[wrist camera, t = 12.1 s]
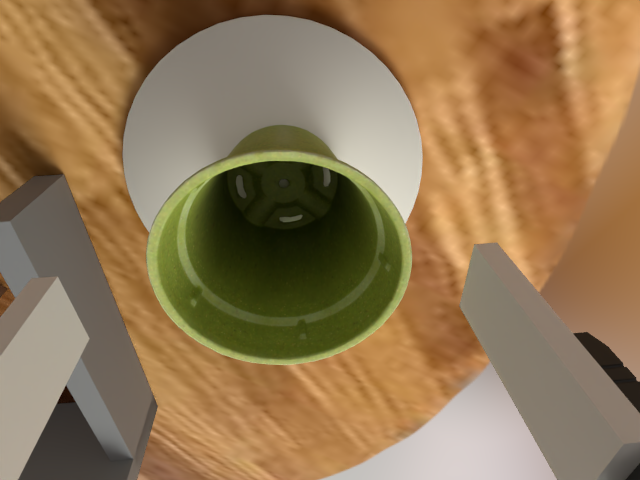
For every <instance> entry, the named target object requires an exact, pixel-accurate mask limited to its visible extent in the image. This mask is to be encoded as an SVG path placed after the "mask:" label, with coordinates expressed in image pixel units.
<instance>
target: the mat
mask: <svg viewBox="0 0 640 480" xmlns="http://www.w3.org/2000/svg"><path fill="white" fill-rule="evenodd" d="M273 125H289V126H295V127H299V128H302V129H305V130H307V131H309V132H311V133H312V134H314V135H315V136H317V137H318V138H320V139H321V140H322V141H323V142H324V143H325V144H326V145H327V146H328V147H329V148H330V150H331V151H332V152H333V154H334V155H335V156H336V157H337V159H338V160H340V161H343V162H345V163H347V164H349V165H351V166H352V167H354V168H356V169H358V170H359V171H361V172H362V173H364V174H365V175H366V176H368V177H369V178H370V179H372V180H373V181H374V182H375V183H376V184H377V185H378V186H379V187H380V188H381V189H382V190H383V191H384V192H385V193H386V194H387V195H388V197H389V198H390V199H391V200H392V202H393V203H394V205H395V206H396V208H397V209H398V211H399V212H400V214H401V216H402V218H403V220H404V223H406V221H407V219H408V217H409V215H410V213H411V211H412V209H413V206H414V203H415V200H416V197H417V194H418V191H419V185H420V180H421V175H422V144H421V136H420V132H419V128H418V123H417V119H416V117H415V114H414V111H413V109H412V106H411V104H410V101H409V99H408V98H407V96H406V94H405V92H404V91H403V89H402V87H401V85H400V84H399V82H398V81H397V80H396V78H395V77H394V76H393V74H392V73H391V72H390V70H389V69H388V68H387V67H386V66H385V65H384V64H383V63H382V62H381V61H380V60H379V59H378V58H377V57H376V56H375V55H374V54H373V53H372V52H370V51H369V50H368V49H366V48H365V47H364V46H362V45H361V44H359V43H358V42H357V41H355V40H354V39H352V38H351V37H349V36H347V35H345V34H343V33H341V32H339V31H337V30H335V29H334V28H332V27H329V26H326V25H323V24H320V23H317V22H314V21H312V20H307V19H302V18H297V17H292V16H283V15H257V16H248V17H240V18H236V19H233V20H229V21H225V22H222V23H218V24H216V25H214V26H211V27H209V28H207V29H205V30H202V31H200V32H198V33H196V34H194V35H193V36H191V37H190V38H188V39H187V40H185V41H183V42H182V43H180V44H179V45H177V46H176V47H175V48H174V49H173V50H171V51H170V52H169V53H168V54H167V55H166V56H165V57H164V58H162V59H161V60H160V61H159V62H158V64H157V65H156V66H155V67H154V69H153V70H152V71H151V72H150V74H149V75H148V76H147V77H146V79H145V80H144V82H143V84H142V86H141V87H140V89H139V91H138V93H137V94H136V96H135V98H134V101H133V104H132V106H131V109H130V112H129V114H128V117H127V122H126V127H125V132H124V139H123V164H124V175H125V179H126V183H127V187H128V191H129V194H130V197H131V199H132V202H133V204H134V207H135V210H136V211H137V213H138V215H139V217H140V219H141V220H142V222H143V224H144V226H145V227H146V229H147V230H148V231H149V233H150V230H151V227H152V224H153V221H154V219H155V217H156V215H157V214H158V212H159V210H160V209H161V207H162V206H163V204H164V203H165V201H166V200H167V199H168V197H169V196H170V195H171V194H172V193H173V192H174V191H175V190H176V188H177V187H178V186H180V185H181V184H182V183H183V182H184V181H185V180H186V179H188V178H189V177H190V176H192V175H193V174H195V173H196V172H197V171H199V170H200V169H202V168H204V167H206V166H208V165H210V164H212V163H214V162H216V161H218V160H220V159H223V158H226V157H227V156H228V155H229V154H230V153H231V151H232V150H233V149H234V148H235V147H236V145H237V144H238V143H239V142H240V141H241V140H242V139H243V138H245V137H246V136H248V135H249V134H251V133H252V132H254V131H256V130H259V129H261V128H264V127H268V126H273ZM323 173H324V186H328V185H329V183H330V172H329V169H328V168H325V167H323ZM288 185H289V182H288V181H287V180H286V179H284V180H280V182H279V186H280V187H287V186H288ZM236 186H237V190H238V193H239V195H240V196H241V197H242V198H246V193H245V191H244V188H243V179H242V176H241V175H238V176H237V178H236ZM302 216H303V215H298V216H294V217H280V218H279V219H280V221H282V222H291V221H296V220H300V219H301V218H302Z"/></svg>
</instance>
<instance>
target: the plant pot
mask: <svg viewBox="0 0 640 480" xmlns="http://www.w3.org/2000/svg"><path fill="white" fill-rule="evenodd" d="M323 167H325V168H328V169H329V172H330V183H329V185H328V186H324V173H323ZM238 175H241V176H242V179H243V188H244V191H245V193H246V198H242V197H241V196H240V195H239V193H238V190H237V186H236V178H237V176H238ZM284 179H286V180H287V181H288V182H289V185H288V186H287V187H280V186H279V182H280V180H284ZM298 215H303V216H302V218H301V219H300V220H296V221H291V222H282V221H280V219H279V218H280V217H294V216H298ZM146 263H147V270H148V276H149V279H150V283H151V285H152V288H153V291H154V293H155V295H156V297H157V299H158V301H159V302H160V304H161V306H162V308H163V309H164V311H165V312H166V313H167V315H168V316H169V317H170V318H171V320H172V321H173V322H174V323H175V324H176V325H177V326H178V327H179V328H181V329H182V330H183V331H184V332H185V333H186V334H188V335H189V336H190V337H192V338H193V339H195V340H196V341H197V342H199V343H201V344H202V345H204V346H206V347H208V348H210V349H212V350H214V351H216V352H218V353H220V354H222V355H226V356H228V357H232V358H234V359H238V360H242V361H247V362H253V363H260V364H274V365H292V364H300V363H306V362H312V361H317V360H321V359H324V358H328V357H331V356H333V355H335V354H338V353H340V352H343V351H345V350H347V349H349V348H350V347H353V346H355V345H356V344H358V343H360V342H361V341H363V340H364V339H366V338H367V337H368V336H370V335H371V334H373V333H374V332H375V331H376V330H377V329H378V328H379V327H381V326H382V325H383V324H384V322H385V321H386V320H387V319H388V318H389V317H390V315H391V314H392V313H393V311H394V310H395V309H396V307H397V306H398V304H399V303H400V301H401V299H402V297H403V295H404V292H405V290H406V287H407V285H408V281H409V277H410V273H411V266H412V251H411V242H410V237H409V233H408V230H407V227H406V225H405V223H404V220H403V218H402V216H401V214H400V212H399V211H398V209H397V208H396V206H395V205H394V203H393V202H392V200H391V199H390V198H389V197H388V195H387V194H386V193H385V192H384V191H383V190H382V189H381V188H380V187H379V186H378V185H377V184H376V183H375V182H374V181H373V180H372V179H370V178H369V177H368V176H366V175H365V174H364V173H362V172H361V171H359V170H358V169H356V168H354V167H352V166H351V165H349V164H347V163H345V162H343V161H340V160H338V159H337V157H336V156H335V155H334V154H333V152H332V151H331V150H330V148H329V147H328V146H327V145H326V144H325V143H324V142H323V141H322V140H321V139H320V138H318V137H317V136H315V135H314V134H312V133H311V132H309V131H307V130H305V129H302V128H299V127H295V126H289V125H273V126H268V127H264V128H261V129H259V130H256V131H254V132H252V133H251V134H249V135H248V136H246V137H245V138H243V139H242V140H241V141H240V142H239V143H238V144H237V145H236V147H235V148H234V149H233V150H232V151H231V153H230V154H229V155H228V156H227V157H226V158H223V159H220V160H218V161H216V162H214V163H212V164H210V165H208V166H206V167H204V168H202V169H200V170H199V171H197V172H196V173H195V174H193V175H192V176H190V177H189V178H188V179H186V180H185V181H184V182H183V183H182V184H181V185H180V186H178V187H177V188H176V190H175V191H174V192H173V193H172V194H171V195H170V196H169V197H168V199H167V200H166V201H165V203H164V204H163V206H162V207H161V209H160V210H159V212H158V214H157V215H156V217H155V219H154V221H153V224H152V227H151V230H150V233H149V236H148V242H147V250H146Z"/></svg>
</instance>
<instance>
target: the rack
mask: <svg viewBox="0 0 640 480" xmlns="http://www.w3.org/2000/svg"><path fill="white" fill-rule="evenodd" d="M0 272H1V274H2V276H3V278H4V279H5V281H6V283H7V284H8V286H9V288H10V290H11V291H12V293H13V295H14V296H15V298H16V297H17V296H18V295H19V293H20V292H21V291H22V290H23V288H24V287H25V286H26V285H27V283H28V282H29V281H30V280H31V278H44V277H57V276H58V278H59V280H60V282H61V284H62V286H63V288H64V290H65V292H66V294H67V296H68V298H69V299H70V301H71V303H72V305H73V307H74V309H75V311H76V313H77V315H78V317H79V319H80V321H81V323H82V325H83V327H84V329H85V331H86V333H87V335H88V337H89V338H90V339H89V341H88V343H87V345H86V347H85V349H84V350H83V352H82V354H81V356H80V358H79V360H78V362H77V364H76V366H75V368H74V370H73V372H72V374H71V376H70V378H69V380H68V382H67V384H66V386H67V387H68V389H69V391H70V393H71V394H72V396H73V398H74V399H75V401H76V402H73V403H63V404H56V406H55V408H54V410H53V412H52V414H51V416H50V418H49V419H48V421H47V423H46V425H45V427H44V429H43V431H42V433H41V435H40V437H39V439H38V441H37V443H36V445H35V447H34V449H33V451H32V453H31V455H30V457H29V459H28V461H27V463H26V465H25V467H24V469H23V471H22V473H21V475H20V477H19V479H18V480H137V478H138V474H139V471H140V467H141V464H142V460H143V457H144V453H145V450H146V446H147V443H148V439H149V435H150V432H151V428H152V425H153V421H154V418H155V414H156V411H157V407H158V406H157V404H156V401H155V399H154V396H153V394H152V391H151V389H150V386H149V384H148V381H147V379H146V376H145V374H144V371H143V369H142V367H141V364H140V362H139V359H138V357H137V354H136V352H135V349H134V347H133V344H132V342H131V339H130V337H129V334H128V332H127V329H126V327H125V325H124V322H123V320H122V317H121V315H120V312H119V310H118V307H117V305H116V302H115V300H114V297H113V295H112V292H111V290H110V287H109V285H108V283H107V280H106V278H105V275H104V273H103V270H102V268H101V265H100V263H99V260H98V258H97V255H96V253H95V250H94V248H93V245H92V243H91V241H90V238H89V236H88V233H87V231H86V228H85V226H84V223H83V221H82V218H81V216H80V213H79V211H78V208H77V206H76V203H75V201H74V199H73V196H72V194H71V191H70V189H69V186H68V184H67V181H66V179H65V176H64V175H47V176H34V177H33V178H31V179H30V180H29V181H27V182H26V183H25V184H23V185H22V186H21V187H20V188H18V189H17V190H16V191H14V192H13V193H12V194H10V195H9V196H8V197H7V198H5V199H4V200H3V201H1V202H0Z"/></svg>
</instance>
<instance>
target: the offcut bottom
mask: <svg viewBox="0 0 640 480" xmlns="http://www.w3.org/2000/svg"><path fill="white" fill-rule="evenodd" d="M6 290H7V288H5V287H3V286H1V285H0V297H1V296H2V295H3V294H4V293H5V292H6Z"/></svg>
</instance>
